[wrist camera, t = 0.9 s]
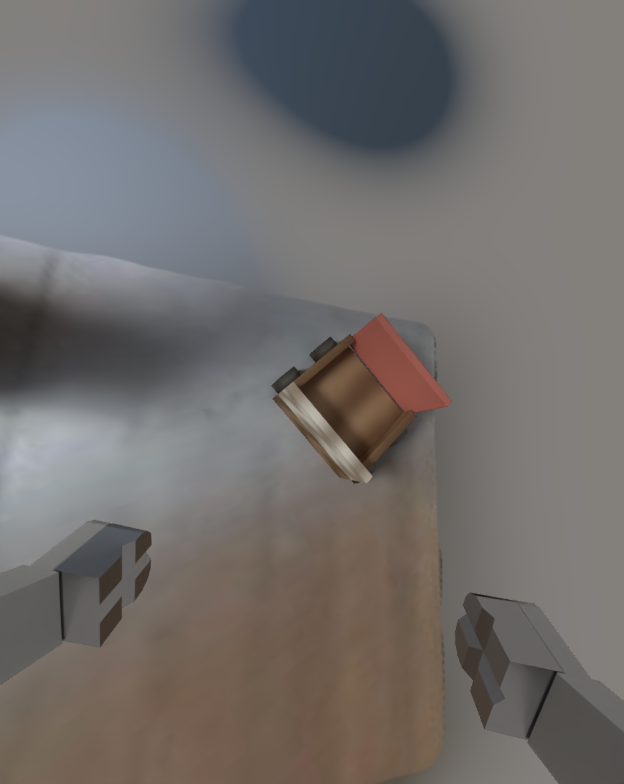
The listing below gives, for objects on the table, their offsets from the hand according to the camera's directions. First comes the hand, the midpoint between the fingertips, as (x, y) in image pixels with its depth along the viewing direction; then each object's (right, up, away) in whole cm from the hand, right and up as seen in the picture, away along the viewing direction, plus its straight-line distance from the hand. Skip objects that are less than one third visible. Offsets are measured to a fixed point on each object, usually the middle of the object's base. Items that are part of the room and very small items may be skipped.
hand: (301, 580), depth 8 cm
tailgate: (+11, +7, +40) cm, 42 cm away
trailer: (+4, +2, +41) cm, 41 cm away
